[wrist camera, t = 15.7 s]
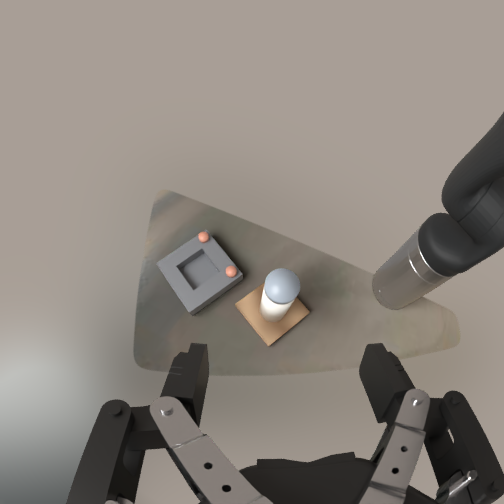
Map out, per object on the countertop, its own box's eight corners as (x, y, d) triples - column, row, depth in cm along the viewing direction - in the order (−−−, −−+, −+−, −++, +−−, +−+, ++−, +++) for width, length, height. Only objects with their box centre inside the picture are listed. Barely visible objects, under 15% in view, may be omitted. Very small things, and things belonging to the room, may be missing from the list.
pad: (275, 275, 49) (276, 273, 49) (308, 313, 46) (309, 312, 46) (235, 305, 47) (234, 304, 46) (268, 346, 44) (268, 345, 43)
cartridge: (274, 291, 47) (284, 261, 35) (290, 311, 46) (307, 287, 34) (254, 307, 46) (257, 281, 34) (270, 327, 44) (280, 309, 33)
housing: (207, 236, 53) (205, 226, 49) (243, 279, 49) (242, 271, 46) (160, 268, 50) (154, 261, 46) (192, 315, 46) (188, 311, 43)
